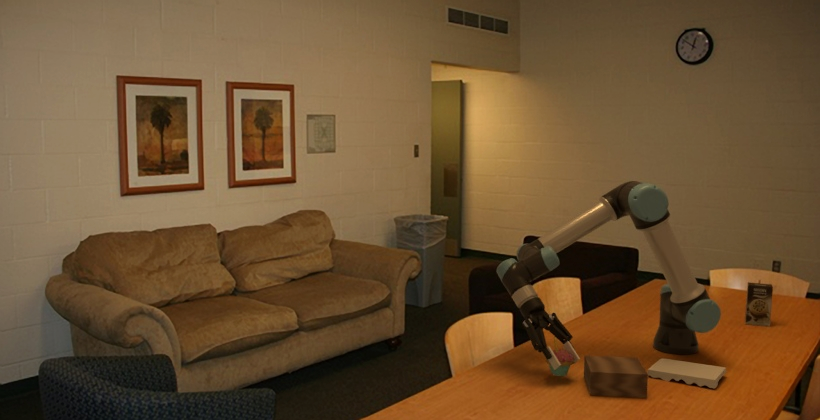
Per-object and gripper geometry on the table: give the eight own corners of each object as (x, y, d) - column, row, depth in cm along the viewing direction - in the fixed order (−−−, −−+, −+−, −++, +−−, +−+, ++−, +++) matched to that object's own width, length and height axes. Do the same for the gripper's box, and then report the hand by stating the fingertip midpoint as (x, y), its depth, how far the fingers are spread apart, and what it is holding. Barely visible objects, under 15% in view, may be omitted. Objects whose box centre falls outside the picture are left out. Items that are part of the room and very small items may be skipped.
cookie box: (745, 324, 299) (747, 284, 298) (744, 320, 305) (747, 281, 304) (770, 327, 296) (773, 286, 294) (769, 323, 302) (772, 283, 300)
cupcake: (556, 379, 225) (557, 340, 224) (539, 371, 233) (540, 333, 231) (579, 375, 229) (580, 336, 228) (561, 367, 237) (562, 330, 235)
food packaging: (647, 380, 235) (714, 391, 224) (647, 369, 235) (715, 380, 223) (661, 368, 247) (725, 378, 236) (661, 358, 247) (726, 367, 236)
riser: (636, 379, 232) (637, 357, 232) (646, 398, 216) (647, 374, 216) (583, 377, 234) (584, 355, 233) (590, 395, 218) (591, 371, 217)
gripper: (544, 304, 247) (582, 363, 237) (499, 314, 234) (537, 377, 224) (557, 291, 243) (596, 351, 232) (511, 300, 230) (551, 364, 219)
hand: (567, 364), depth 228 cm, fingers closed on cupcake, 8 cm apart
